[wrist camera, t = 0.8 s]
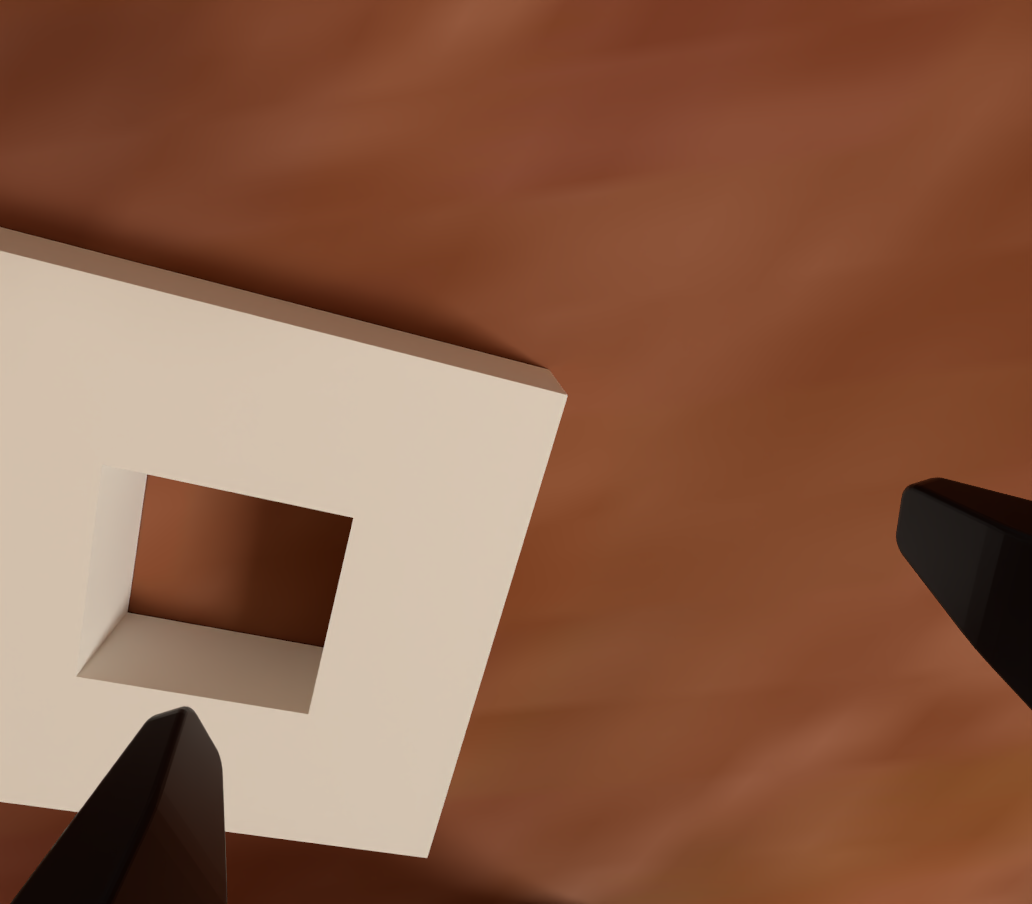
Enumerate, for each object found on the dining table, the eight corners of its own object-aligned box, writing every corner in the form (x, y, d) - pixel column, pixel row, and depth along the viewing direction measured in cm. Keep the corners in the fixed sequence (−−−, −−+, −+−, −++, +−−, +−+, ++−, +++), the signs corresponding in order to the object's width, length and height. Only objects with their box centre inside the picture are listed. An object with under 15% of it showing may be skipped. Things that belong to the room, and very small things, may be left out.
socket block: (428, 779, 27) (427, 857, 23) (-39, 708, 24) (-116, 785, 21) (549, 369, 22) (567, 395, 19) (-5, 225, 20) (-96, 226, 16)
